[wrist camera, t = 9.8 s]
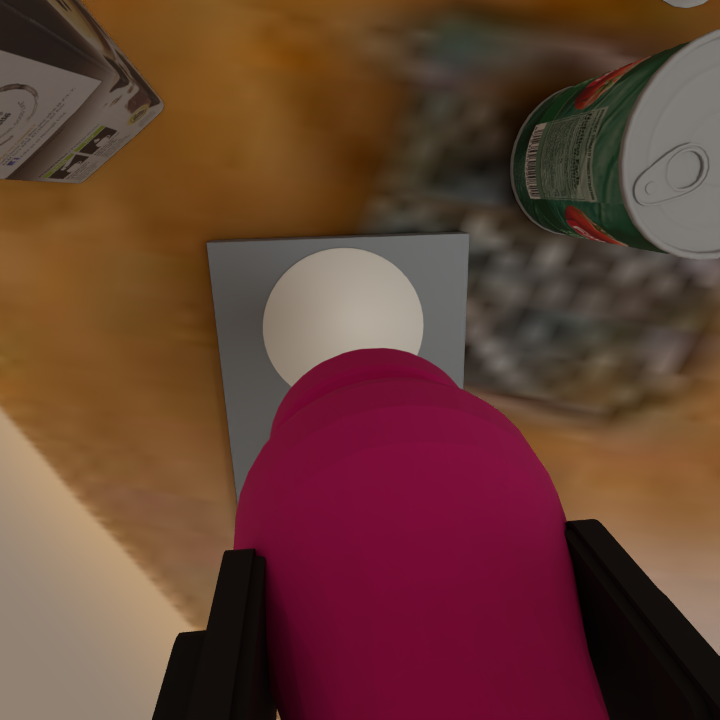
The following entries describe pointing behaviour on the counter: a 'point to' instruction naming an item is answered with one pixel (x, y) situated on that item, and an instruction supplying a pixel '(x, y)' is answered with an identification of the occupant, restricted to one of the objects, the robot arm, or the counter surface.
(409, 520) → the pepper mill
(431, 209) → the counter surface
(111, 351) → the counter surface
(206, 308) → the counter surface
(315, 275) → the plate
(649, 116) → the canned tomato
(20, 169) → the coffee box
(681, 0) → the chalice
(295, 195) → the counter surface
